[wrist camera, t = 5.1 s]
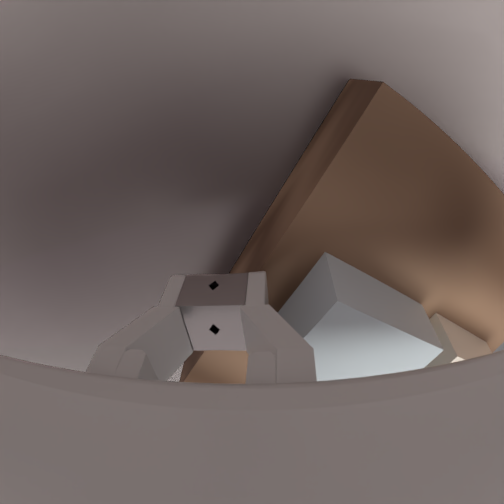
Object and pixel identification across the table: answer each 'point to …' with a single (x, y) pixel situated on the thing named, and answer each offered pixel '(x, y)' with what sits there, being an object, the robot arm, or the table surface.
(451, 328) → the cream tile
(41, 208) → the table surface
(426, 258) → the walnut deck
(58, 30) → the table surface
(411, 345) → the pale blue brick
